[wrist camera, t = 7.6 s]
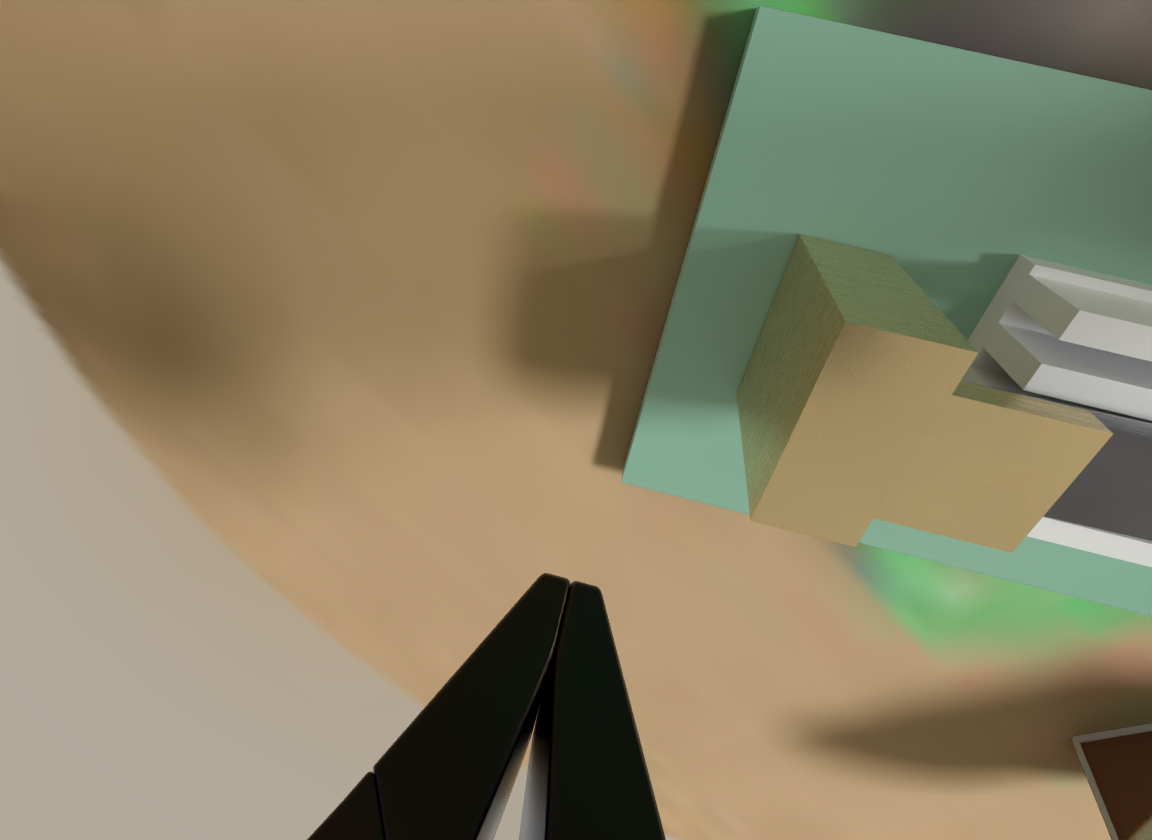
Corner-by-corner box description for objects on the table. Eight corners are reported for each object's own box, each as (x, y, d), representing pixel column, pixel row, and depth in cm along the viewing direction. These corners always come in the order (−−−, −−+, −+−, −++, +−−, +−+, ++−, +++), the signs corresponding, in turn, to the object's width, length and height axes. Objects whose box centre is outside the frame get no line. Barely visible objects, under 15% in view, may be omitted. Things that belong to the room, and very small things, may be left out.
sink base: (1691, 209, 13) (2299, 314, 8) (1205, 611, 21) (1364, 790, 16) (756, 7, 14) (789, -10, 9) (624, 465, 22) (602, 591, 17)
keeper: (1005, 281, 15) (1147, 392, 10) (911, 436, 18) (988, 580, 13) (799, 233, 16) (845, 321, 11) (736, 393, 18) (750, 520, 14)
